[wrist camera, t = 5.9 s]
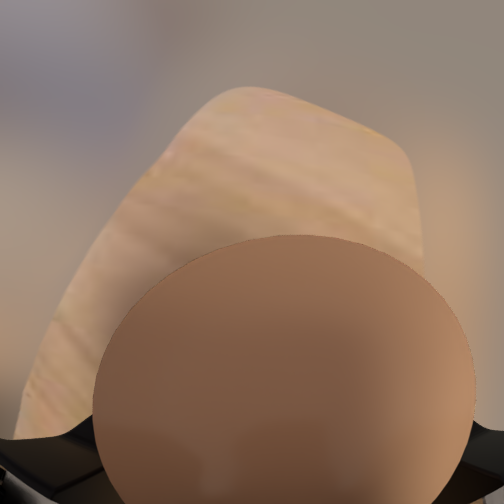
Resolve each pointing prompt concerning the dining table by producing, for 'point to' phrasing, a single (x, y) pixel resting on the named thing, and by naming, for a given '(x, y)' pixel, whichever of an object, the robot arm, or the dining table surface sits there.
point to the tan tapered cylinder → (286, 381)
